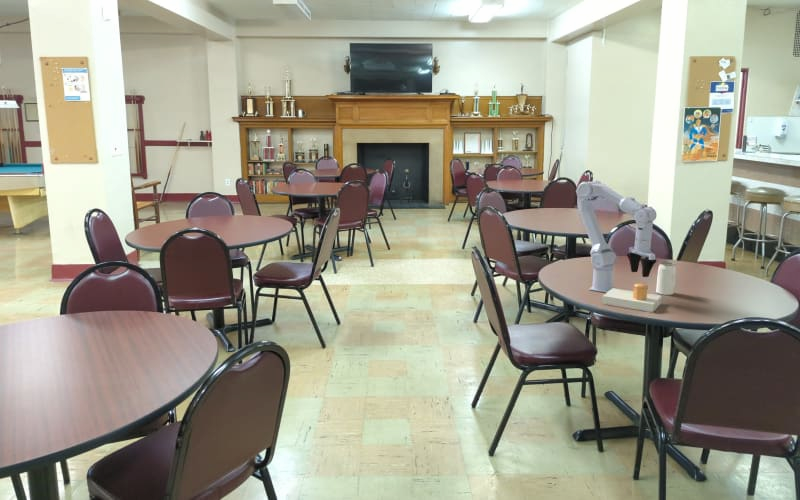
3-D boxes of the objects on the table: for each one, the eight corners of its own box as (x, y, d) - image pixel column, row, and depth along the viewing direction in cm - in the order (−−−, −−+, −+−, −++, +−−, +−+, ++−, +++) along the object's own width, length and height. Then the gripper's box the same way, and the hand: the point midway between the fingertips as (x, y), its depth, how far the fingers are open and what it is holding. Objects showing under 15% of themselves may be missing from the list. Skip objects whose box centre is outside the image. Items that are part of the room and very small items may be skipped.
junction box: (612, 295, 246) (613, 280, 244) (661, 303, 236) (662, 287, 235) (601, 303, 234) (603, 288, 233) (652, 312, 224) (654, 296, 223)
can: (672, 291, 252) (676, 262, 249) (674, 296, 246) (677, 266, 243) (655, 290, 254) (658, 261, 251) (656, 294, 248) (659, 264, 245)
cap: (640, 296, 234) (641, 283, 233) (649, 299, 230) (650, 286, 229) (630, 297, 232) (631, 284, 231) (638, 300, 228) (640, 287, 227)
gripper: (623, 236, 244) (620, 270, 247) (644, 243, 230) (640, 279, 233) (639, 235, 245) (636, 269, 248) (661, 242, 231) (658, 278, 234)
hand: (639, 274), depth 240 cm, fingers open, 7 cm apart
